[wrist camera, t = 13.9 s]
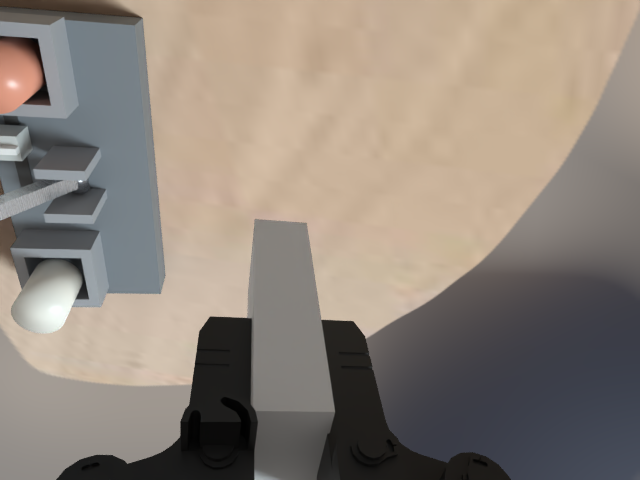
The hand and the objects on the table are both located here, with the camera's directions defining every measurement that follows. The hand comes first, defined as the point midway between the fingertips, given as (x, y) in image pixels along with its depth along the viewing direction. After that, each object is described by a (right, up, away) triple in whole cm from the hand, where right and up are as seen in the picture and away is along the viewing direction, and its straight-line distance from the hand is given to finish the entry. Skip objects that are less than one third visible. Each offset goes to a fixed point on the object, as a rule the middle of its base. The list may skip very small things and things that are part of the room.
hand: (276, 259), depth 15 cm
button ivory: (-22, -3, +30) cm, 37 cm away
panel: (-20, +7, +30) cm, 37 cm away
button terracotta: (-20, +13, +21) cm, 32 cm away
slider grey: (-23, +9, +25) cm, 35 cm away
